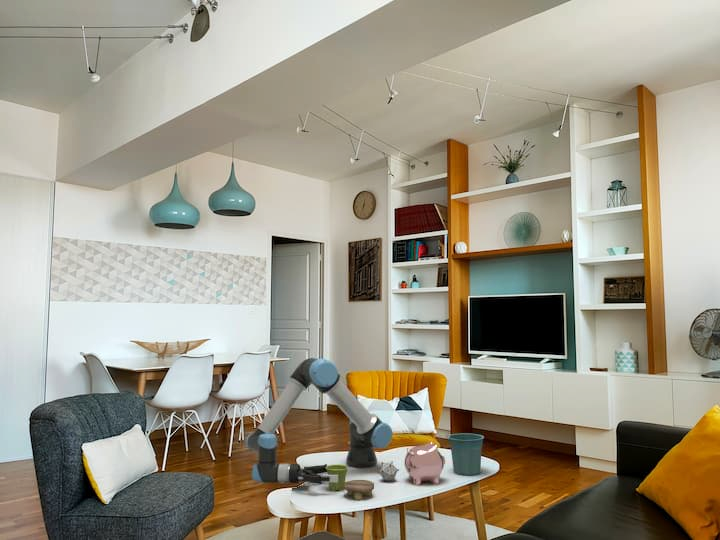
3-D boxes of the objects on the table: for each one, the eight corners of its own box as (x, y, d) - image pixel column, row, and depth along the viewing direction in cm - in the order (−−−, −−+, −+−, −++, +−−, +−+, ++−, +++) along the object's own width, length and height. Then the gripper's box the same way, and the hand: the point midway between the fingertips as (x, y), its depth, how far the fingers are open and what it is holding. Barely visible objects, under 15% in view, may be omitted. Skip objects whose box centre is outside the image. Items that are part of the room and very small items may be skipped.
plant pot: (333, 484, 235) (333, 463, 235) (352, 487, 230) (352, 466, 231) (321, 489, 227) (321, 468, 227) (340, 493, 222) (340, 471, 223)
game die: (391, 490, 238) (397, 475, 233) (373, 482, 239) (378, 467, 235) (397, 475, 245) (403, 460, 240) (380, 467, 247) (385, 452, 242)
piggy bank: (451, 484, 234) (450, 445, 235) (410, 487, 230) (410, 448, 231) (438, 475, 248) (437, 438, 250) (400, 477, 245) (399, 440, 246)
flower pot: (447, 475, 247) (446, 439, 249) (450, 466, 263) (449, 432, 265) (484, 478, 243) (483, 440, 245) (485, 468, 259) (484, 433, 261)
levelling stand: (345, 490, 225) (345, 479, 225) (375, 491, 224) (374, 480, 224) (342, 500, 213) (342, 488, 213) (373, 500, 212) (373, 488, 212)
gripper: (295, 474, 242) (343, 475, 240) (283, 491, 217) (336, 492, 216) (295, 457, 243) (343, 457, 241) (283, 471, 218) (336, 472, 216)
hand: (340, 474), depth 228 cm, fingers open, 13 cm apart
